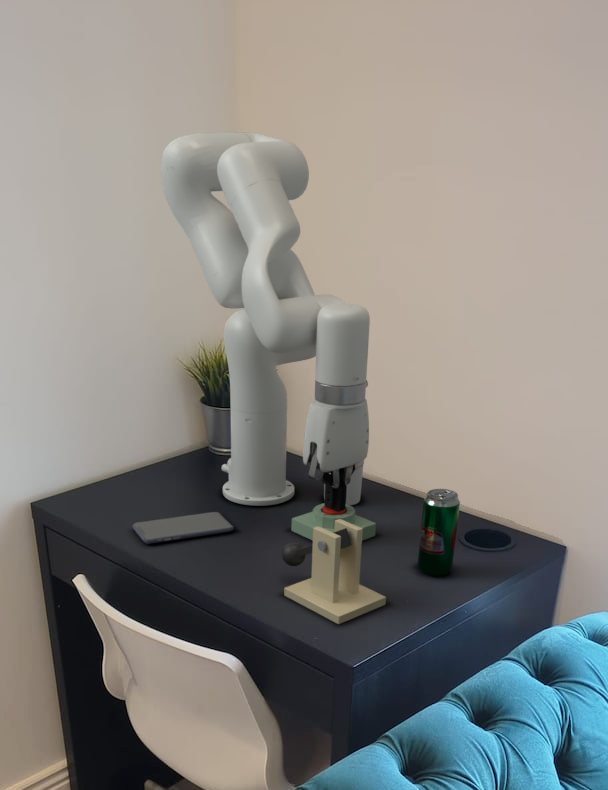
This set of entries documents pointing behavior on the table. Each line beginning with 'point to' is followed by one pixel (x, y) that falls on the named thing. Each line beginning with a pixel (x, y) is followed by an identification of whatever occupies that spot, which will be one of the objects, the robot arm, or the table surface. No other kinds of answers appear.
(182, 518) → the smartphone
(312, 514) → the control block
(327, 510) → the button
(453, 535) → the soda can
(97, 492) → the table surface
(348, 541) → the ball knob handle
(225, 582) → the table surface
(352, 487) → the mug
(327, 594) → the lever bracket
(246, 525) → the table surface
